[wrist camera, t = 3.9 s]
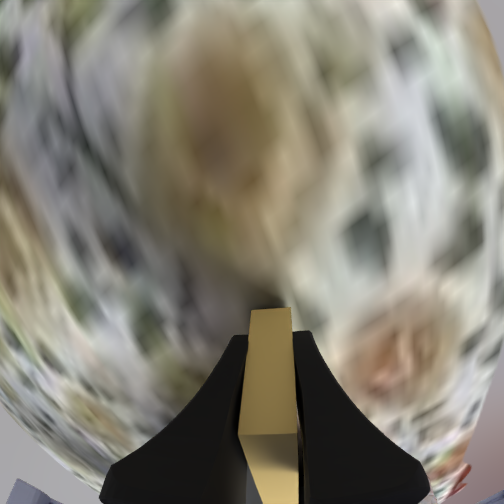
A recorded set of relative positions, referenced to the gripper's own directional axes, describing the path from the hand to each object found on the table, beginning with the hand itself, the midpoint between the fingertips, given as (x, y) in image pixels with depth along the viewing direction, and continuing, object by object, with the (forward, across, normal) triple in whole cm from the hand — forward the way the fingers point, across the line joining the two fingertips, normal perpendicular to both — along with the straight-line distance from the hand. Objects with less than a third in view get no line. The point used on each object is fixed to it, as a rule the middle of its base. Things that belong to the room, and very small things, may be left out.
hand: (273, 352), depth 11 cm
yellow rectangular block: (+1, 0, +4) cm, 4 cm away
